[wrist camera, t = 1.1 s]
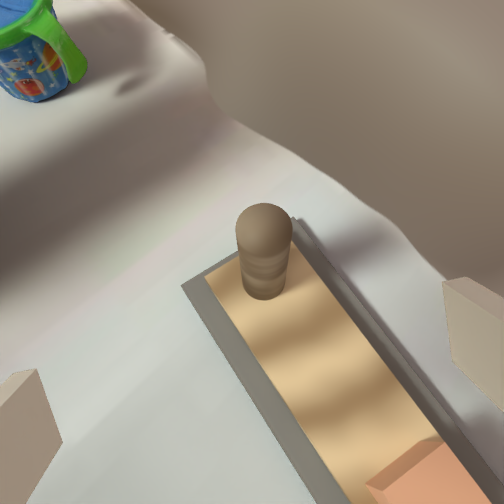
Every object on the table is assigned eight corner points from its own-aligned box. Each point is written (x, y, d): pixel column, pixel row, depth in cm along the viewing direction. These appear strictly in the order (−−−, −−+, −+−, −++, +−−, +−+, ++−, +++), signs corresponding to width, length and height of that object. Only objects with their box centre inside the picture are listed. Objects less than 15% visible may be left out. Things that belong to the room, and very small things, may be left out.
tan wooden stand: (205, 281, 39) (185, 224, 29) (282, 234, 40) (288, 164, 30) (424, 616, 30) (511, 712, 19) (512, 539, 31) (636, 590, 21)
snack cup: (-45, 78, 50) (-116, -5, 41) (24, 20, 53) (-27, -69, 44) (57, 143, 46) (4, 69, 37) (124, 77, 50) (91, -7, 40)
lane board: (182, 288, 40) (180, 285, 39) (292, 221, 42) (293, 216, 41) (405, 644, 30) (409, 651, 29) (533, 531, 32) (541, 534, 32)
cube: (364, 483, 32) (382, 491, 27) (419, 441, 33) (445, 442, 28) (412, 553, 30) (439, 575, 25) (467, 507, 31) (503, 519, 26)
